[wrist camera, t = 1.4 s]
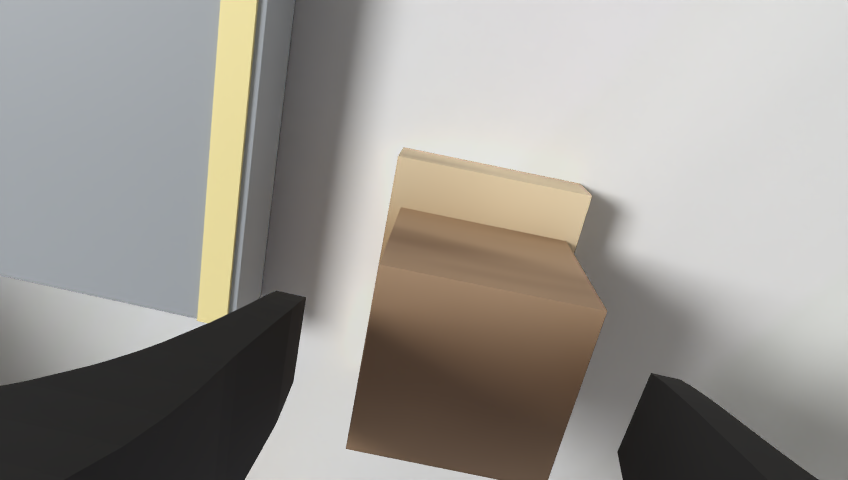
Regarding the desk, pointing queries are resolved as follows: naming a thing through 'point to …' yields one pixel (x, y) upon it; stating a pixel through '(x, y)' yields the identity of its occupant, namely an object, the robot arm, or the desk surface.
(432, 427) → the tan cardboard carton
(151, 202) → the dock
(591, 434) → the desk surface
